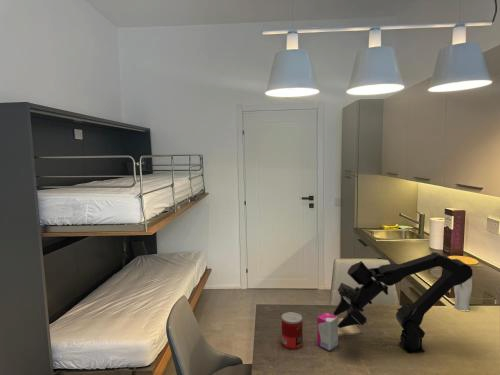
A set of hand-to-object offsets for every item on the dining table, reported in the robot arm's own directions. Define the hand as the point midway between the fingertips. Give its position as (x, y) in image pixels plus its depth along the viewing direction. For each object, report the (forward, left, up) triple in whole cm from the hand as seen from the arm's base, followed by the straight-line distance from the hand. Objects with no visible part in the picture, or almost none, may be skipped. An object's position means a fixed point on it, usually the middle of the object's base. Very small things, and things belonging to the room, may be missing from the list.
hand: (336, 320), depth 127 cm
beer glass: (-67, -20, -10) cm, 70 cm away
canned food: (+16, -4, -10) cm, 19 cm away
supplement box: (+3, -1, -10) cm, 11 cm away
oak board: (-7, -13, -11) cm, 18 cm away
